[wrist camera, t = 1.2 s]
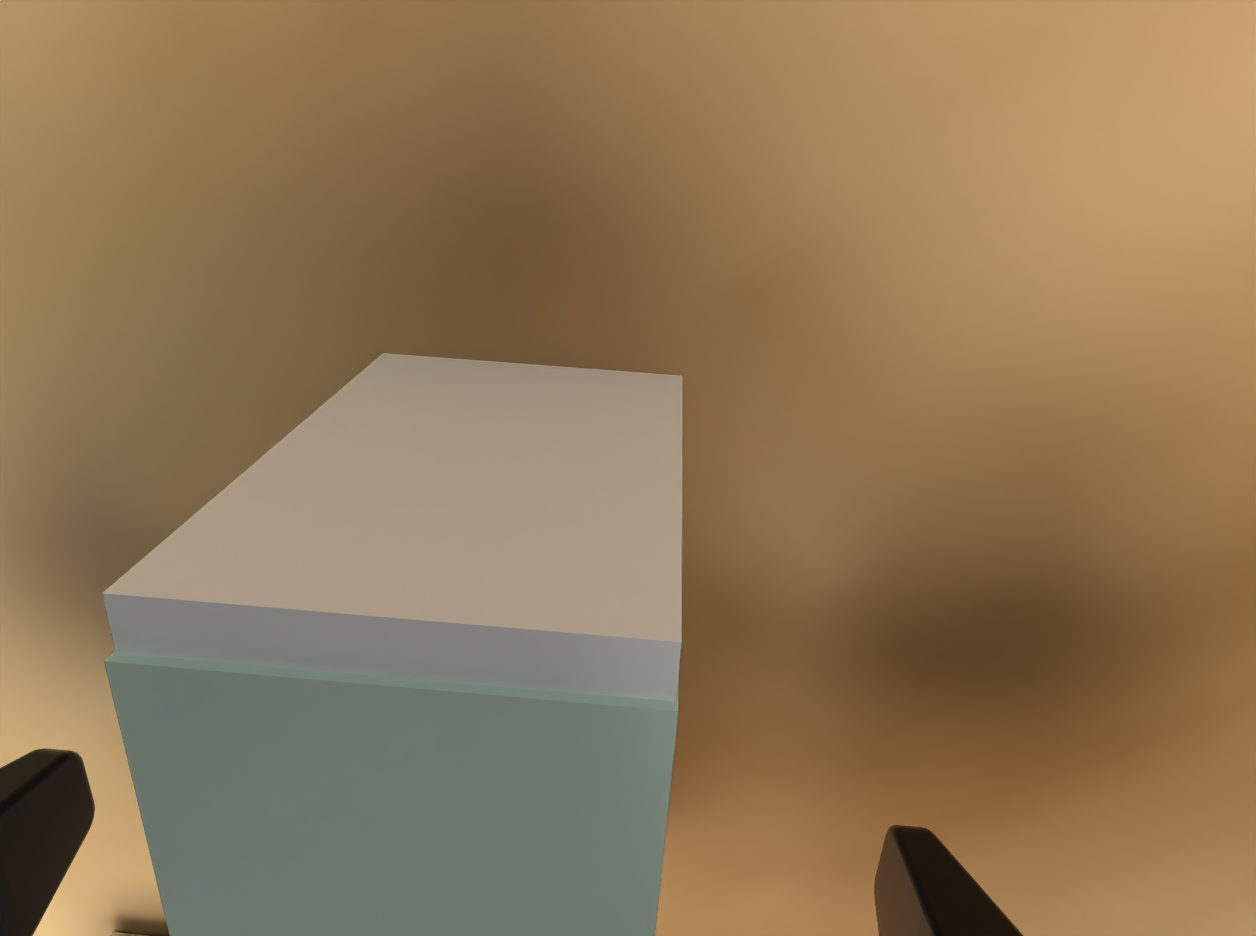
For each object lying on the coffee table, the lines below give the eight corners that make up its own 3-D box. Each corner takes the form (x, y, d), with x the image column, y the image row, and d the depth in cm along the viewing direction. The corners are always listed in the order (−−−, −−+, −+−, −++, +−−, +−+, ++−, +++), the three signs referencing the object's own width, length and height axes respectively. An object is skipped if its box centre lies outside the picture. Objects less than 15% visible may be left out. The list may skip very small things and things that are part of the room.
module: (683, 374, 11) (685, 656, 6) (644, 820, 14) (619, 1284, 9) (383, 351, 11) (83, 604, 6) (410, 799, 15) (239, 1243, 9)
